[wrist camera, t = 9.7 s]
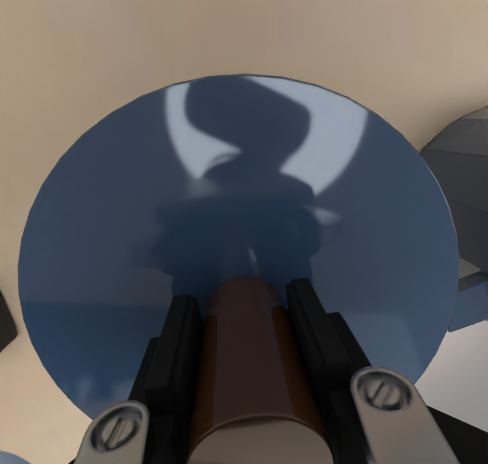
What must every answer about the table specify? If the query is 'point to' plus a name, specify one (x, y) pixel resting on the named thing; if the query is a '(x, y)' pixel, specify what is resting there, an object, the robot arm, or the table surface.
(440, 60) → the table surface
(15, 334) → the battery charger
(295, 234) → the pot lid
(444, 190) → the pot
